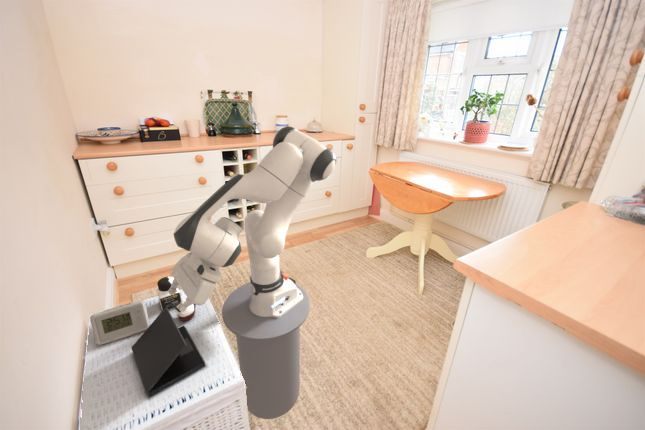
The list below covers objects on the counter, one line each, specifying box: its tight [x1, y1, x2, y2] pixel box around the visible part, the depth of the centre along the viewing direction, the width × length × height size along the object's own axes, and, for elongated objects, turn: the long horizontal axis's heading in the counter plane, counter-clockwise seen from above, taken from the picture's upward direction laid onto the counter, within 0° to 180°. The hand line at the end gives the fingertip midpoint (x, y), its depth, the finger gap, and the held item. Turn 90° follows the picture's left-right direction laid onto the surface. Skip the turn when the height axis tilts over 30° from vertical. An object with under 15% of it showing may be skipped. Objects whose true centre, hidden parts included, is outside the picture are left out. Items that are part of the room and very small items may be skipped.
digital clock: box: [89, 300, 151, 346], centre depth 102 cm, size 16×9×11 cm, turn 110°
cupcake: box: [169, 301, 197, 322], centre depth 109 cm, size 10×6×12 cm, turn 133°
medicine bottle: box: [156, 276, 183, 312], centre depth 116 cm, size 7×7×12 cm
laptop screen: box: [131, 307, 187, 394], centre depth 91 cm, size 16×20×1 cm
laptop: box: [147, 325, 206, 398], centre depth 95 cm, size 16×20×2 cm
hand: (175, 301), depth 89 cm, fingers open, 8 cm apart
